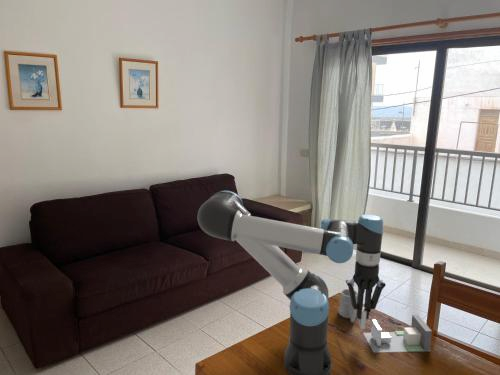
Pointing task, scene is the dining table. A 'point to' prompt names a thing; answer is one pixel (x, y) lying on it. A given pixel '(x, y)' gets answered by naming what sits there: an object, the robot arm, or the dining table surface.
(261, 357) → the dining table surface
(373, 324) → the plunger
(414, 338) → the block
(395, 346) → the bench
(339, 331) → the dining table surface
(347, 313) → the mug
